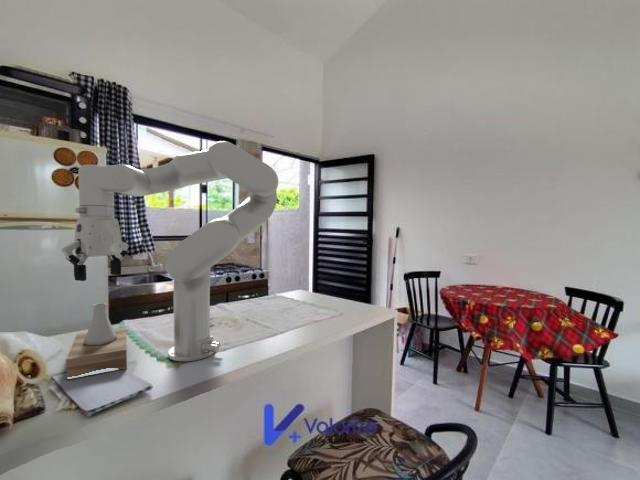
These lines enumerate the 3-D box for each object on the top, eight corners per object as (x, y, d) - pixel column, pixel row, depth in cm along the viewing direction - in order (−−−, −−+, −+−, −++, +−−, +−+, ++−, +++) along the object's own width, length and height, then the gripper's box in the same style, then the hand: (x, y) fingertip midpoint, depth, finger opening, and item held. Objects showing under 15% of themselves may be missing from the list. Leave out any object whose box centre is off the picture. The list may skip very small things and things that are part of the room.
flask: (100, 347, 82) (99, 308, 82) (76, 345, 83) (75, 307, 83) (123, 337, 89) (122, 302, 89) (101, 335, 91) (100, 300, 90)
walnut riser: (77, 351, 92) (77, 333, 92) (126, 343, 98) (126, 327, 98) (66, 380, 75) (66, 359, 75) (126, 368, 81) (126, 349, 81)
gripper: (73, 211, 75) (75, 284, 76) (136, 214, 92) (137, 273, 93) (51, 211, 78) (53, 282, 79) (116, 214, 94) (118, 272, 95)
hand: (99, 277), depth 86 cm, fingers open, 9 cm apart
